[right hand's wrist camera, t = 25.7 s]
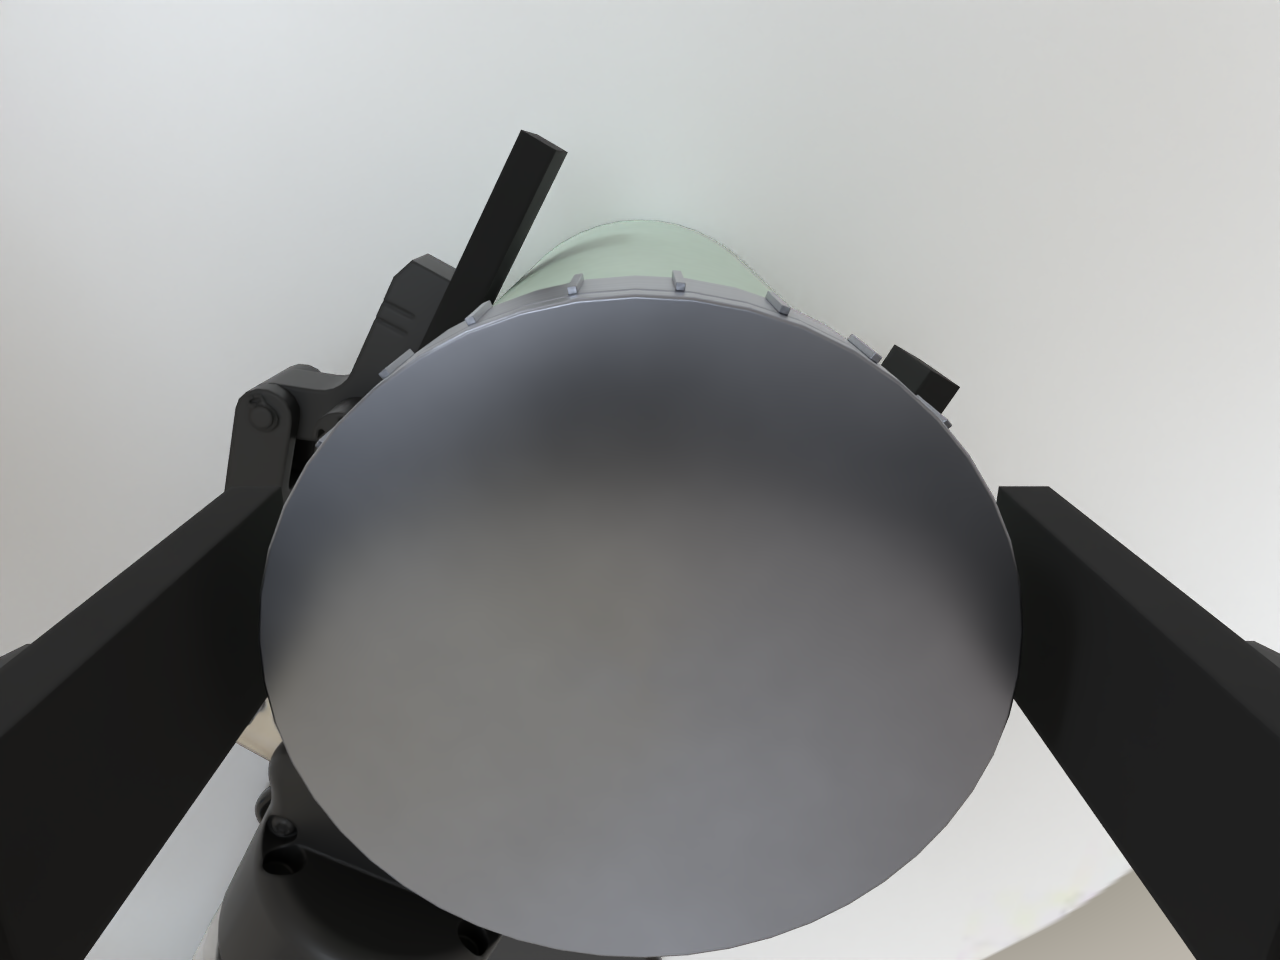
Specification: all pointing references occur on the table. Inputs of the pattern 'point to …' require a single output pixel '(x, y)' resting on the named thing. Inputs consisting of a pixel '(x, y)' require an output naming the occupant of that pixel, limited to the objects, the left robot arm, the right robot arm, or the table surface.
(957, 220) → the table surface
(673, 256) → the jar
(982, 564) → the lid
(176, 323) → the table surface
